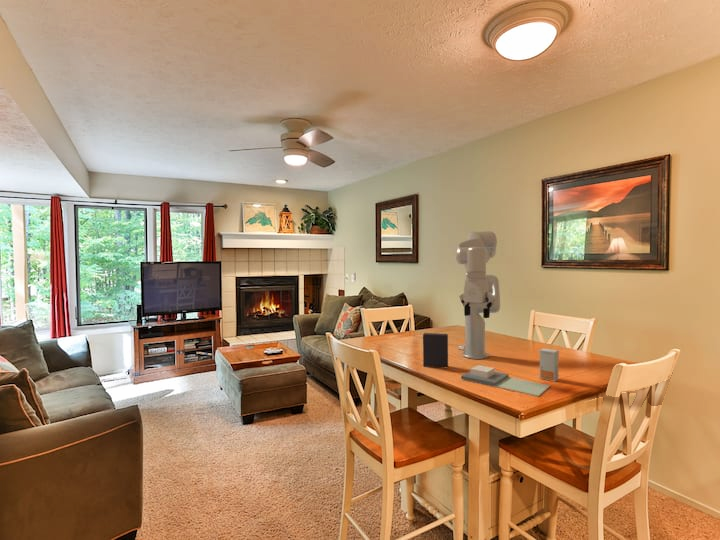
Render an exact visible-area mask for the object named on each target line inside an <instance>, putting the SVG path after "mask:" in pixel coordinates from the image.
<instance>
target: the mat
mask: <svg viewBox="0 0 720 540" xmlns="http://www.w3.org/2000/svg"><path fill="white" fill-rule="evenodd" d="M497 387H499V388H498V389H502V388H503V389H502V390H506V389H509V390H508V391H511V390H513V391H512V392H516V391H518V392H517V393H520V392H522V393H521V394H525V393H526V394H525V395H529V394H530V396H534V395H535V397H540V396H541V395H542V394H543V393H544V392H546V391H547V390H548V389H549V388H550V387H551V385H549V384H545V383H540V382H536V381H530V380H525V379H519V378H514V377H510V376H509V377H508V378H506V379H505V380H503V381H502V382H500V383H498V384H497V385H495V387H494V388H497Z"/></svg>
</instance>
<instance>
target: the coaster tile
mask: <svg viewBox="0 0 720 540" xmlns="http://www.w3.org/2000/svg"><path fill="white" fill-rule="evenodd" d="M470 371H471V375H474V376H479V377H484V378H489V377H490V376H492V375H494V372H495V367H490V366H485V365H479V364H478V365H476V366H473V367H472V368H470Z"/></svg>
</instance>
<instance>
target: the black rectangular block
mask: <svg viewBox="0 0 720 540" xmlns="http://www.w3.org/2000/svg"><path fill="white" fill-rule="evenodd" d="M422 350H423V351H422V352H423V353H422V355H423V356H422V357H423V358H422V361H423V362H422V366H423V367H425V366H433V367H432V368H441V367H447V368H448V367H449V334H448V333H439V332H438V333H437V332H436V333H433V332H430V333H429V332H424V333H423V335H422Z"/></svg>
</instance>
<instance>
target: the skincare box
mask: <svg viewBox="0 0 720 540" xmlns="http://www.w3.org/2000/svg"><path fill="white" fill-rule="evenodd" d="M559 355H560V353H559V350H558V349H552V348H544V347H543V348H541V349H540V350H539V379H541V380H546V381H550V382H556V381H558V380H559V357H560V356H559Z"/></svg>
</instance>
